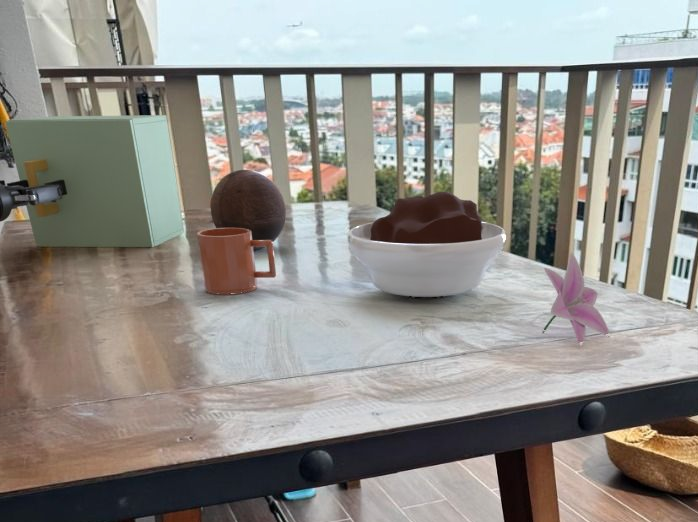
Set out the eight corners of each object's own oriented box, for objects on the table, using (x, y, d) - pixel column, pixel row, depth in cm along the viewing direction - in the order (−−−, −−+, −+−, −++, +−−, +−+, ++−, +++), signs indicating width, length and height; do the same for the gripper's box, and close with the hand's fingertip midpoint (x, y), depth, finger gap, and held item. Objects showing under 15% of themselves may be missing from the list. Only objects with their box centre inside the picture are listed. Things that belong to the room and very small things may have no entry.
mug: (199, 295, 123) (191, 236, 119) (212, 283, 131) (204, 227, 126) (273, 294, 123) (267, 236, 118) (281, 282, 130) (275, 227, 126)
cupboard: (154, 247, 161) (132, 118, 148) (39, 246, 163) (8, 119, 151) (184, 232, 176) (166, 115, 163) (79, 232, 178) (53, 116, 166)
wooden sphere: (303, 248, 157) (297, 168, 150) (247, 259, 148) (237, 175, 140) (258, 240, 166) (249, 164, 158) (201, 250, 156) (190, 170, 148)
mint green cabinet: (140, 253, 154) (116, 121, 142) (20, 252, 156) (-14, 122, 144) (154, 246, 160) (131, 119, 148) (38, 245, 163) (7, 120, 150)
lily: (531, 360, 96) (575, 297, 89) (498, 303, 102) (536, 241, 96) (599, 374, 102) (644, 316, 96) (563, 319, 108) (603, 262, 102)
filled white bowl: (388, 320, 109) (385, 207, 101) (328, 285, 128) (322, 188, 120) (533, 300, 118) (541, 195, 110) (456, 270, 137) (459, 179, 129)
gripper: (-65, 224, 138) (4, 206, 157) (39, 224, 136) (96, 206, 155) (-79, 179, 134) (-6, 166, 153) (27, 179, 132) (88, 166, 151)
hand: (45, 187), depth 154 cm, fingers open, 7 cm apart
